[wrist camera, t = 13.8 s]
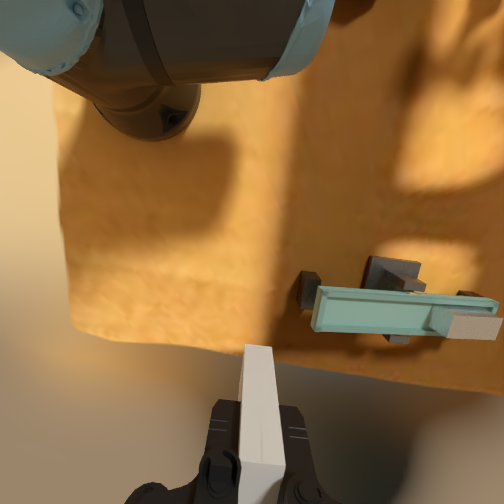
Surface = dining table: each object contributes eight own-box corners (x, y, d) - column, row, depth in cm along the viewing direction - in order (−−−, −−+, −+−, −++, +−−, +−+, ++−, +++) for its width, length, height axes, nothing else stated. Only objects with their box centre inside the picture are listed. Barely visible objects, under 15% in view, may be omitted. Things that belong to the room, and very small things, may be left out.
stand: (305, 247, 44) (315, 258, 37) (480, 269, 44) (521, 284, 38) (292, 319, 46) (299, 342, 40) (457, 339, 47) (490, 364, 41)
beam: (318, 283, 36) (323, 288, 35) (489, 296, 41) (500, 300, 40) (309, 327, 38) (314, 333, 36) (475, 334, 43) (485, 340, 41)
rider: (433, 303, 39) (454, 315, 35) (479, 306, 40) (503, 318, 37) (426, 324, 40) (446, 338, 36) (472, 327, 41) (495, 339, 38)
